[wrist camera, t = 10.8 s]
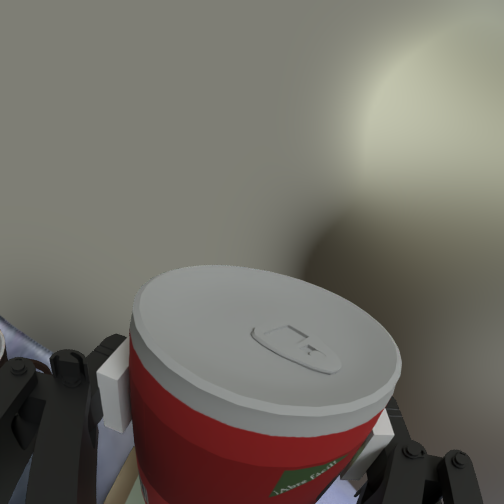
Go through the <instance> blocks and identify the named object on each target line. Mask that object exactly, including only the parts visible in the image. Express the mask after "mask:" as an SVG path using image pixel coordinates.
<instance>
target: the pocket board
mask: <svg viewBox="0 0 504 504" xmlns="http://www.w3.org/2000/svg"><path fill="white" fill-rule="evenodd" d="M103 504H145V501H144V498H143V495H142V491H141V485H140V479H139V473H138V466H137V459H136V451H135V447H134V446H133V448H132V450H131V452H130V454H129V456H128V458H127V459H126V461H125V463H124V465H123V467H122V469H121V471H120V473H119V475H118V476H117V478H116V480H115V482H114V484H113V486H112V488H111V490H110V492H109V493H108V495H107V497H106V499H105V501H104V503H103Z"/></svg>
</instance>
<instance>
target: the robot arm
mask: <svg viewBox="0 0 504 504" xmlns="http://www.w3.org/2000/svg"><path fill="white" fill-rule="evenodd" d="M49 359H50V364H51V369H52V373H53V375H49V374H45V373H40V372H36V369H35V365H34V364H33V362H32V361H30V360H29V359H27V358H23V357H15V358H12V359H10V360H8V361H7V362H6V363H5V364H4V365H3V366H2V367H1V368H0V504H8V502H9V500H10V498H11V496H12V494H13V491H14V489H15V487H16V485H17V483H18V481H19V479H20V477H21V475H22V473H23V471H24V469H25V467H26V465H27V463H28V461H29V459H30V457H31V455H32V453H33V452H34V453H33V458H32V463H31V468H30V474H29V480H28V487H27V494H26V502H25V504H96V473H97V449H98V434H99V430H98V425H97V424H98V423H99V422H100V420H101V419H102V417H103V420H104V426H106V427H108V428H110V429H112V430H115V431H117V432H120V433H122V434H123V433H124V431H125V430H126V428H127V426H128V425H129V423H130V421H131V420H132V412H131V399H130V381H129V336H128V337H125V336H122V335H119V334H114V335H112V336H109V337H107V338H105V339H104V340H103V341H102V342H101V344H100V345H99V346H97V347H96V348H95V349H94V351H92V352H91V353H90V354H89V355H88V356H87V357H85V356H84V355H83V354H82V353H80V352H79V351H75V350H70V349H68V350H67V349H65V350H60V351H57V352H55V353H54V354H52V356H51V357H50V358H49ZM365 473H367V477H368V480H367V482H366V483H365V484H364V485H363V486H362V487H361V488H360V489H359V490H358V491H357V492H356V494H355V495H354V497H357V496H358V495H359V494H360V495H359V498H358V501H357V504H442V502H441V499H442V498H443V501H444V504H483V500H482V496H481V493H480V489H479V485H478V481H477V478H476V474H475V471H474V468H473V464H472V461H471V459H470V457H469V456H468V455H467V454H466V453H464V452H462V451H460V450H450V451H449V452H448V453H447V454H446V455H445V456H444V457H443V458H442V457H437V456H432V455H428V454H427V452H426V450H425V448H424V447H423V446H422V445H421V444H420V443H418V442H416V441H413V440H411V438H410V435H409V432H408V430H407V427H406V425H405V422H404V420H403V417H402V415H401V412H400V410H399V407H398V405H397V402H396V400H395V399H394V398H393V397H392V396H391V398H390V400H389V402H388V403H387V405H386V407H385V408H384V410H383V412H382V413H381V415H380V417H379V419H378V421H377V423H376V424H375V426H374V427H373V429H372V431H371V432H370V434H369V435H368V436H367V438H366V439H365V441H364V442H363V444H362V445H361V447H360V448H359V449H358V451H357V452H356V454H355V455H354V456H353V458H352V459H351V460H350V462H349V463H348V464H347V466H346V467H345V468H344V470H343V471H342V472H341V473H340V480H360V479H361V477H362V476H363V475H364V474H365Z"/></svg>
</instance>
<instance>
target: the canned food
mask: <svg viewBox="0 0 504 504" xmlns="http://www.w3.org/2000/svg"><path fill="white" fill-rule="evenodd" d="M129 331H130V333H129V381H130V399H131V412H132V424H133V434H134V443H135V451H136V459H137V466H138V473H139V479H140V485H141V491H142V495H143V498H144V501H145V504H315V503H316V502H317V501H318V500H319V499H320V498H321V496H322V495H323V494H324V493H325V492H326V491H327V489H328V488H329V487H330V486H331V485H332V483H333V482H334V481H335V480H336V478H337V477H338V476H339V475H340V473H341V472H342V471H343V470H344V468H345V467H346V466H347V464H348V463H349V462H350V460H351V459H352V458H353V456H354V455H355V454H356V452H357V451H358V449H359V448H360V447H361V445H362V444H363V442H364V441H365V439H366V438H367V436H368V435H369V434H370V432H371V431H372V429H373V427H374V426H375V424H376V423H377V421H378V419H379V417H380V415H381V413H382V412H383V410H384V408H385V407H386V405H387V403H388V402H389V400H390V398H391V396H392V395H393V392H394V388H395V384H396V383H397V381H398V379H399V377H400V373H401V365H402V361H401V356H400V353H399V349H398V347H397V345H396V344H395V342H394V340H393V338H392V336H391V335H390V334H389V333H388V332H387V331H386V330H385V329H384V327H383V326H382V325H381V324H380V323H378V322H377V321H376V320H375V319H374V318H372V317H371V316H370V315H369V314H368V313H366V312H365V311H364V310H362V309H361V308H359V307H358V306H356V305H355V304H353V303H351V302H350V301H348V300H346V299H344V298H342V297H340V296H338V295H337V294H334V293H332V292H330V291H328V290H325V289H323V288H321V287H318V286H316V285H313V284H310V283H307V282H305V281H302V280H299V279H295V278H292V277H289V276H285V275H281V274H277V273H273V272H268V271H263V270H258V269H252V268H246V267H237V266H223V265H203V266H192V267H185V268H178V269H175V270H171V271H167V272H164V273H162V274H160V275H157V276H155V277H153V278H151V279H150V280H149V281H147V282H146V283H145V284H144V285H142V286H141V288H140V289H139V291H138V293H137V294H136V296H135V298H134V304H133V310H132V317H131V322H130V329H129Z"/></svg>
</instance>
